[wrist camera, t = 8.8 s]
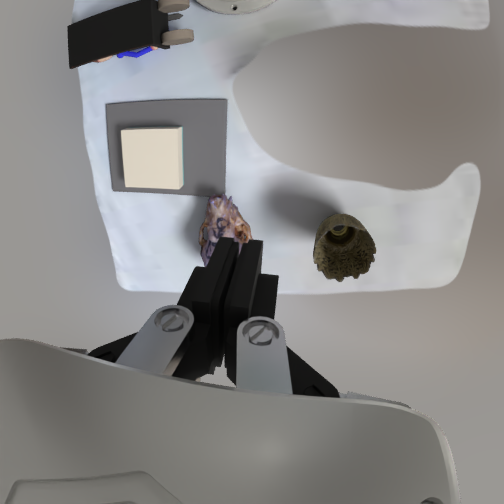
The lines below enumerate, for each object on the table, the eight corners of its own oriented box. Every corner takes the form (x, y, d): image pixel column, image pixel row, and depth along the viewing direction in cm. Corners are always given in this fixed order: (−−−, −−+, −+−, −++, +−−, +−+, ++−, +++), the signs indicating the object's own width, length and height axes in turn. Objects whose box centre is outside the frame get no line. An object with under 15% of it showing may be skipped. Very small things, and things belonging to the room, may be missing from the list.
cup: (361, 195, 40) (374, 221, 33) (366, 244, 43) (378, 276, 36) (306, 205, 42) (308, 232, 35) (315, 252, 45) (318, 286, 38)
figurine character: (196, 1, 30) (91, 29, 31) (184, -15, 24) (62, 24, 25) (201, 47, 34) (95, 72, 35) (189, 39, 27) (66, 73, 28)
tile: (182, 126, 38) (128, 127, 38) (177, 128, 36) (120, 130, 37) (184, 184, 42) (131, 182, 42) (179, 189, 40) (125, 187, 41)
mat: (107, 104, 37) (106, 104, 37) (227, 99, 36) (226, 99, 35) (114, 190, 44) (113, 191, 43) (225, 196, 42) (224, 197, 42)
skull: (197, 188, 41) (190, 210, 36) (256, 189, 41) (257, 212, 36) (201, 260, 48) (196, 288, 43) (252, 262, 49) (252, 289, 44)
